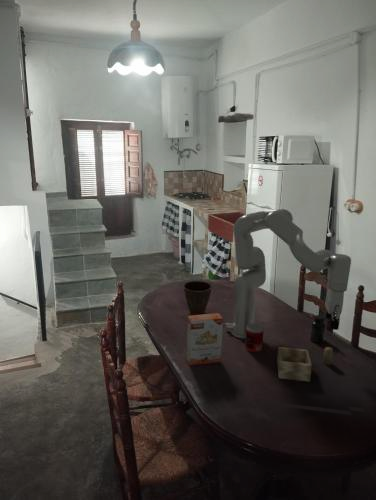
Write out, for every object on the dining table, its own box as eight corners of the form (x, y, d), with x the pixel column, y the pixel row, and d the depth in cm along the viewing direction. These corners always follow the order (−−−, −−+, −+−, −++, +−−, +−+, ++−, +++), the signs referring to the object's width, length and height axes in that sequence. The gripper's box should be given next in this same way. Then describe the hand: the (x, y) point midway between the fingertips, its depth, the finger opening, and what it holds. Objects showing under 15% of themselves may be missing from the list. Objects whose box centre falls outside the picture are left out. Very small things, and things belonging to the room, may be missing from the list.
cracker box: (189, 366, 161) (190, 321, 155) (186, 359, 167) (187, 314, 161) (221, 362, 164) (223, 318, 159) (217, 355, 170) (218, 312, 164)
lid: (312, 373, 159) (315, 355, 157) (308, 356, 171) (310, 340, 169) (345, 376, 157) (348, 358, 155) (339, 359, 169) (341, 343, 167)
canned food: (263, 346, 178) (264, 325, 175) (260, 355, 171) (262, 333, 168) (246, 343, 180) (248, 322, 177) (243, 352, 173) (244, 330, 170)
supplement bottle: (325, 344, 181) (328, 321, 178) (310, 342, 182) (312, 319, 179) (323, 337, 188) (326, 314, 184) (308, 335, 189) (311, 313, 186)
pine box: (278, 380, 153) (280, 362, 151) (276, 363, 164) (278, 347, 162) (309, 383, 151) (311, 365, 149) (305, 366, 163) (307, 349, 160)
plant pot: (211, 319, 204) (212, 291, 200) (183, 318, 205) (183, 290, 200) (210, 307, 219) (211, 281, 215) (183, 307, 219) (184, 280, 215)
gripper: (323, 276, 163) (319, 313, 168) (331, 292, 146) (325, 332, 151) (342, 278, 162) (337, 315, 166) (352, 294, 145) (345, 334, 150)
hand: (331, 323), depth 159 cm, fingers open, 9 cm apart
